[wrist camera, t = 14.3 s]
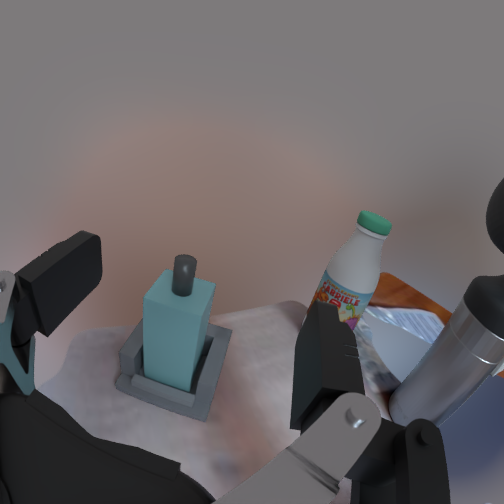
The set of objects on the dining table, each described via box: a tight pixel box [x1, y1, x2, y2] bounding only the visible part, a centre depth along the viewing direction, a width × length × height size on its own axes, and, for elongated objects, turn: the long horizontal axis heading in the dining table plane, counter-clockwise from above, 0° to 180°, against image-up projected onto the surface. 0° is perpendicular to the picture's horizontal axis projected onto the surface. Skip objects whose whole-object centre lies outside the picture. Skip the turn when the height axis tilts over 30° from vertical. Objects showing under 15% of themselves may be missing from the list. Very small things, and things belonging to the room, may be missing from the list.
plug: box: [143, 255, 216, 392], centre depth 25 cm, size 5×5×14 cm
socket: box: [115, 318, 232, 422], centre depth 27 cm, size 10×10×4 cm
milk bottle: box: [302, 211, 392, 331], centre depth 37 cm, size 8×8×20 cm
